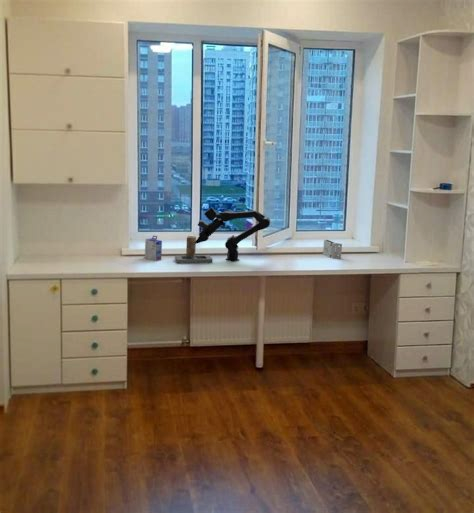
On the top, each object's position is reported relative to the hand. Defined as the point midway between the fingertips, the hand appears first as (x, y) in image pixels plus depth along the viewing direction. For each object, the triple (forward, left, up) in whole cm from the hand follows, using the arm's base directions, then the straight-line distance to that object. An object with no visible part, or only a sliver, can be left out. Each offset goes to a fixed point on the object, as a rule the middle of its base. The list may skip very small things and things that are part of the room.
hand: (196, 241), depth 409 cm
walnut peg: (+3, +2, -10) cm, 11 cm away
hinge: (-48, -78, -11) cm, 92 cm away
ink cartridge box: (+12, +25, -11) cm, 29 cm away
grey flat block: (-7, +7, -10) cm, 14 cm away
